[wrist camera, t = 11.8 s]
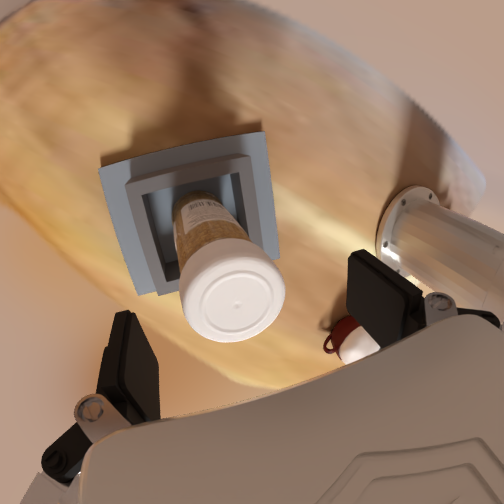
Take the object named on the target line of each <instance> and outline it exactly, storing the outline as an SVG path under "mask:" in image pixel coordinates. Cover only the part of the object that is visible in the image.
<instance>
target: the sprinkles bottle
mask: <svg viewBox="0 0 504 504" xmlns="http://www.w3.org/2000/svg"><path fill="white" fill-rule="evenodd" d="M172 225H173V232H174V241H175V247H176V251H177V255H178V262H179V267H180V273H181V276H180V280H179V292H180V299H181V304H182V308H183V312H184V315H185V318H186V320H187V321H188V323H189V324H190V326H191V327H192V328H193V329H194V330H195V331H196V332H197V333H199V334H200V335H202V336H203V337H205V338H207V339H210V340H213V341H218V342H237V341H242V340H245V339H248V338H251V337H253V336H255V335H257V334H258V333H260V332H262V331H263V330H264V329H266V328H267V327H268V326H269V325H270V324H271V323H272V322H273V321H274V320H275V318H276V317H277V316H278V314H279V312H280V310H281V308H282V306H283V302H284V298H285V284H284V280H283V277H282V275H281V273H280V271H279V269H278V268H277V266H276V265H275V264H274V262H273V261H272V260H271V259H270V257H269V256H268V255H267V254H266V253H265V252H264V251H263V250H262V249H261V248H260V247H259V246H257V245H256V244H254V243H253V242H252V241H251V240H250V239H249V237H248V235H247V233H246V232H245V231H244V230H243V228H242V227H241V226H240V225H239V224H238V222H237V221H236V220H235V219H234V218H233V216H232V215H231V214H230V213H229V212H228V211H227V209H226V208H225V207H224V206H222V203H221V201H220V200H219V199H218V198H217V197H216V196H215V195H213V194H212V193H209V192H206V191H200V190H198V191H192V192H189V193H187V194H185V195H184V196H182V197H181V198H180V199H179V200H178V201H177V202H176V203H175V205H174V207H173V211H172Z"/></svg>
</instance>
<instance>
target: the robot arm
mask: <svg viewBox="0 0 504 504" xmlns="http://www.w3.org/2000/svg"><path fill="white" fill-rule="evenodd" d="M376 252H377V258H376V257H375V256H373V255H372V254H370V253H369V252H367V251H366V250H364V249H361V250H358V251H355V252H352V253H351V256H349V258H348V279H347V301H346V307H347V310H348V312H349V313H350V314H351V315H352V316H353V317H354V319H355V320H356V321H357V322H358V323H359V324H360V325H361V326H362V327H363V328H364V329H365V331H366V332H367V333H368V334H369V335H370V336H371V337H372V338H373V339H374V341H375V342H376V343H377V344H378V345H379V346H380V347H381V348H382V349H381V350H378V351H376V352H374V353H372V354H370V355H368V356H365V357H363V358H361V359H359V360H356V361H354V362H352V363H349V364H347V365H345V366H342V367H340V368H337V369H335V370H332V371H330V372H327V373H325V374H322V375H320V376H317V377H314V378H312V379H309V380H306V381H303V382H300V383H298V384H295V385H292V386H289V387H286V388H283V389H280V390H277V391H274V392H270V393H267V394H264V395H261V396H257V397H254V398H250V399H247V400H243V401H240V402H236V403H232V404H228V405H224V406H220V407H216V408H211V409H207V410H203V411H199V412H194V413H189V414H184V415H180V416H175V417H169V418H164V419H161V418H160V400H159V399H160V398H159V366H158V361H157V358H156V356H155V355H154V353H153V350H152V348H151V346H150V344H149V342H148V341H147V338H146V336H145V334H144V332H143V330H142V328H141V325H140V323H139V321H138V318H137V316H136V314H135V313H134V312H133V313H131V312H130V311H129V310H126V311H121V312H117V313H116V314H115V317H114V321H113V325H112V330H111V334H110V338H109V343H108V346H107V347H105V349H104V353H103V357H102V362H101V368H100V372H99V378H98V384H97V389H96V394H90V395H87V396H85V397H83V398H82V399H81V400H80V401H79V402H78V403H77V405H76V406H75V409H74V417H75V420H76V421H77V422H76V423H75V424H74V425H73V426H72V427H71V428H70V429H69V430H67V431H66V432H65V433H64V434H63V435H62V436H61V437H59V438H58V439H57V440H56V441H55V442H54V443H53V444H52V445H51V446H49V447H48V448H47V449H46V450H45V452H44V454H43V456H42V461H41V464H42V468H43V472H42V473H39V472H38V473H37V475H36V477H35V478H34V480H33V482H32V483H31V485H30V487H29V489H28V490H27V492H26V494H25V495H24V497H23V499H22V501H21V503H20V504H504V234H502V233H500V232H498V231H496V230H494V229H492V228H490V227H488V226H486V225H484V224H482V223H479V222H477V221H475V220H473V219H471V218H468V217H466V216H464V215H461V214H459V213H457V212H454V211H452V210H450V209H447V208H445V207H442V206H440V203H439V200H438V198H437V196H436V195H435V194H434V192H433V191H431V190H430V189H429V188H426V187H423V186H418V185H415V186H410V187H408V188H406V189H404V190H403V191H401V192H400V193H399V194H398V195H397V196H396V197H395V198H394V199H393V200H392V201H391V203H390V204H389V206H388V207H387V209H386V211H385V213H384V215H383V217H382V220H381V223H380V226H379V230H378V234H377V242H376ZM409 275H412V276H413V277H415V278H416V279H418V280H419V281H421V282H422V283H423V284H425V285H426V286H428V287H429V288H431V289H432V290H433V291H435V292H433V293H430V294H428V295H427V296H426V297H425V298H424V297H422V293H423V291H422V290H420V289H419V288H418V287H416V286H415V285H414V284H412V283H411V282H410V281H408V280H407V279H406V278H404V277H407V276H409Z"/></svg>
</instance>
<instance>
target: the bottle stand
mask: <svg viewBox="0 0 504 504" xmlns="http://www.w3.org/2000/svg"><path fill="white" fill-rule="evenodd" d="M98 170H99V175H100V179H101V183H102V187H103V191H104V194H105V198H106V202H107V205H108V209H109V212H110V216H111V219H112V223H113V226H114V229H115V232H116V235H117V239H118V242H119V245H120V248H121V251H122V254H123V256H124V259H125V262H126V265H127V268H128V270H129V273H130V276H131V279H132V281H133V284H134V286H135V289H136V292H137V294H138V296H139V295H143V294H147V293H151V292H155V291H157V294H158V296H160V295H164V294H168V293H172V292H176V291H179V280H180V276H181V273H180V267H179V262H178V255H177V251H176V247H175V241H174V232H173V225H172V211H173V207H174V205H175V203H176V202H177V201H178V200H179V199H180V198H181V197H182V196H184V195H185V194H187V193H189V192H192V191H198V190H200V191H206V192H209V193H212V194H213V195H215V196H216V197H217V198H218V199H219V200H220V201H221V203H222V206H224V207H225V208H226V209H227V211H228V212H229V213H230V214H231V215H232V216H233V218H234V219H235V220H236V221H237V222H238V224H239V225H240V226H241V227H242V228H243V230H244V231H245V232H246V233H247V235H248V237H249V239H250V240H251V241H252V242H253V243H254V244H256V245H257V246H259V247H260V248H261V249H262V250H263V251H264V252H265V253H266V254H267V255H268V256H269V257H270V259H271V260H275V259H279V258H280V253H279V243H278V234H277V225H276V217H275V208H274V200H273V191H272V183H271V175H270V168H269V160H268V152H267V145H266V138H265V131H260V132H253V133H246V134H240V135H234V136H228V137H222V138H216V139H211V140H206V141H201V142H196V143H191V144H186V145H182V146H177V147H173V148H169V149H165V150H161V151H157V152H153V153H149V154H145V155H141V156H138V157H134V158H131V159H127V160H124V161H120V162H117V163H114V164H110V165H107V166H104V167H101V168H99V169H98Z"/></svg>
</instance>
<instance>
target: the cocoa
mask: <svg viewBox="0 0 504 504" xmlns="http://www.w3.org/2000/svg"><path fill="white" fill-rule="evenodd" d="M330 339H331V343H332V346H333V349H328V348H327V347H326V345H327V343H328V342H329V340H330ZM323 349H324V351H325V352H326V353H328V354H332V353H334V352H336V354H337V355H338V357H339V358H340V360H342V361H343V362H344V363H345V364H346V365H347V364H349V363H352V362H354V361H356V360H359V359H361V358H363V357H365V356H368V355H370V354H372V353H374V352H376V351H378V350H381V349H382V348H381V347H380V346H379V345H378V344H377V343H376V342H375V341H374V339H373V338H372V337H371V336H370V335H369V334H368V333H367V332H366V331H365V329H364V328H363V327H362V326H361V325H360V324H359V323H358V322H357V321H356V320H355V319H354V317H353V316H352V315H351V316H347V317H345V318H343V319H342V320H341V321H339V322H338V323H337V324H336V326H335V327H334V329H333V331H332V333H331V334H330V335H329V336H328V337H327V339H326V340H325V342H324V345H323Z"/></svg>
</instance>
